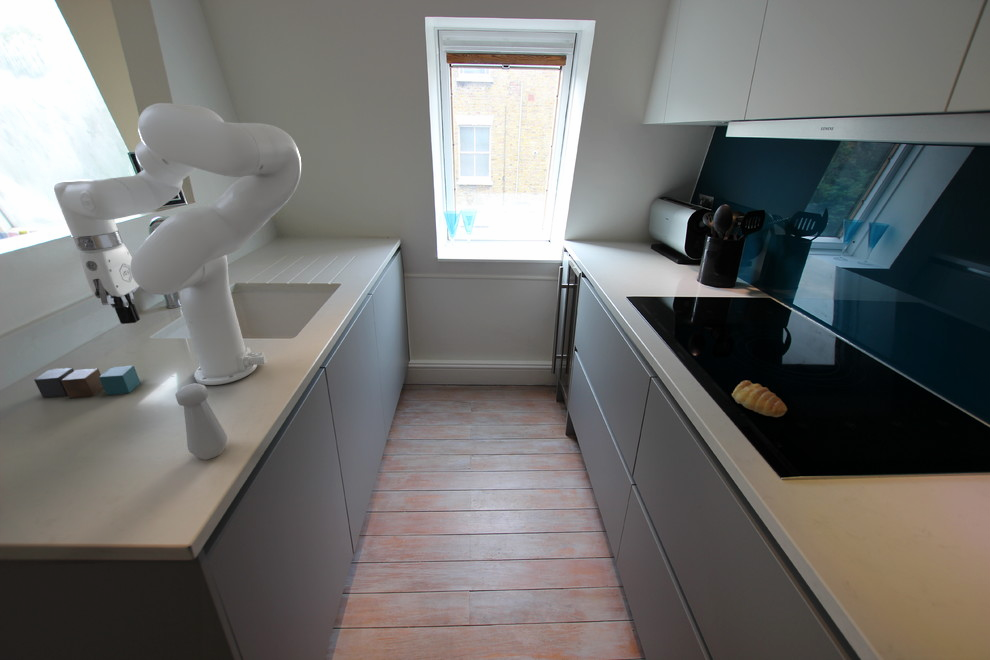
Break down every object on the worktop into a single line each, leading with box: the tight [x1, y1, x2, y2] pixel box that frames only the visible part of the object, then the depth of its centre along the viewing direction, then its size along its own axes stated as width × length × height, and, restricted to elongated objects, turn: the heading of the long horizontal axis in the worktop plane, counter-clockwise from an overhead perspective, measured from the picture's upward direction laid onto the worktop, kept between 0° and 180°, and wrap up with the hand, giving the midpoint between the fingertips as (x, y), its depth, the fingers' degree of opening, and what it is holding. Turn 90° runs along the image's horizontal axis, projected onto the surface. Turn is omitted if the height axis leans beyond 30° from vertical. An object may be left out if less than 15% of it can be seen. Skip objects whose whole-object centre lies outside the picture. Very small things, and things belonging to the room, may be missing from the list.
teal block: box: [99, 365, 141, 396], centre depth 95 cm, size 4×4×4 cm
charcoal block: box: [34, 367, 75, 399], centre depth 94 cm, size 4×4×4 cm
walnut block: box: [61, 367, 104, 399], centre depth 94 cm, size 4×4×4 cm
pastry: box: [731, 380, 788, 418], centre depth 88 cm, size 9×7×4 cm
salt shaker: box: [175, 382, 228, 461], centre depth 74 cm, size 6×6×13 cm
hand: (130, 321), depth 101 cm, fingers closed
